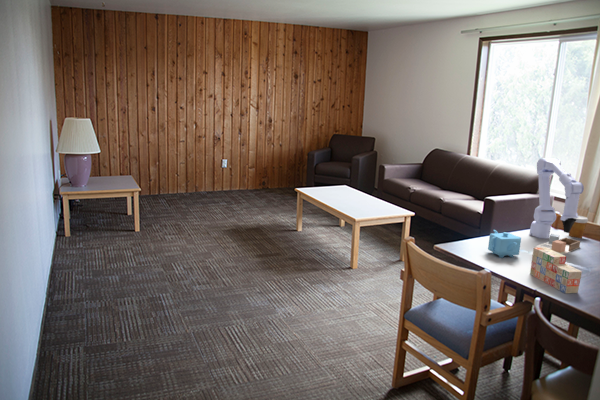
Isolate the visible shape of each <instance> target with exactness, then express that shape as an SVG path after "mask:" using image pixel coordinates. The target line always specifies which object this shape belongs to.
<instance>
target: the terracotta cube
mask: <svg viewBox="0 0 600 400" xmlns="http://www.w3.org/2000/svg"><path fill="white" fill-rule="evenodd" d="M565 247H566V242H562V241H558V240H556V241H553V242H552V246H551V247H550V248H551V250H553V251H556V252H560V253H561V252H564V251H565Z"/></svg>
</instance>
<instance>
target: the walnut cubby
mask: <svg viewBox="0 0 600 400" xmlns="http://www.w3.org/2000/svg"><path fill="white" fill-rule="evenodd" d="M558 241H562V242H566V244H568V245H569V251H570V252H572V251H571V250H573V251H575V250H577V249H580V248H581V241H580V240H576V239H573V238H568V237H563V238H559V240H558ZM579 247H580V248H579ZM576 248H577V249H576ZM574 249H575V250H574Z"/></svg>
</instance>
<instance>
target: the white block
mask: <svg viewBox="0 0 600 400" xmlns="http://www.w3.org/2000/svg"><path fill="white" fill-rule="evenodd" d="M556 240H560V235H559V234H554V233H550V235H549V238H548V242H549V243H552V242H553V241H556Z"/></svg>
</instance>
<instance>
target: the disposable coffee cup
mask: <svg viewBox="0 0 600 400" xmlns="http://www.w3.org/2000/svg"><path fill="white" fill-rule="evenodd" d="M578 216H579V217H578V218H574V219H576V221H575V223H574V224H573V226H572V228H571V230H570V232H569V233H568V237H570V238H571V237H572V238H578V239H582V238H583V235H584V232H585V229H586V226H587V223H588V222H589V219H588V217H586V216H582V215H578Z"/></svg>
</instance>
